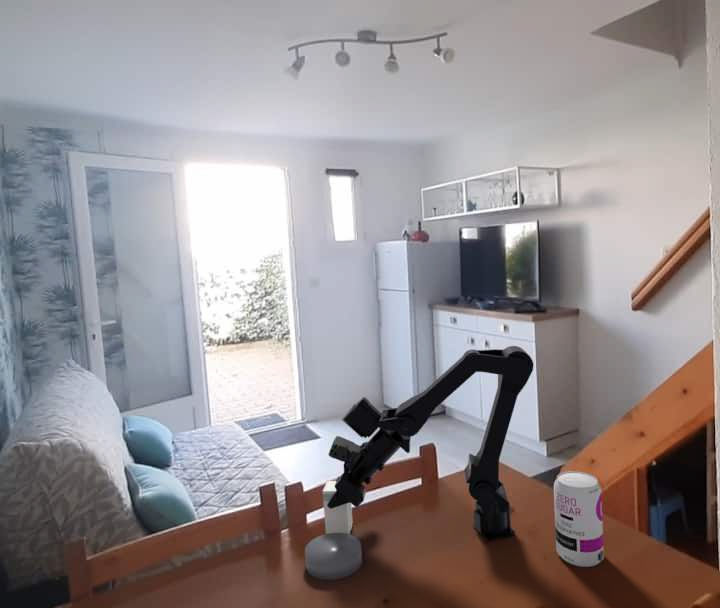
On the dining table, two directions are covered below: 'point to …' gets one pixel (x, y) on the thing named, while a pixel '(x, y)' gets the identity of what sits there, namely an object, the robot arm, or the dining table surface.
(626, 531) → the dining table surface
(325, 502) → the carton
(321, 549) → the grey dome
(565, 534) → the supplement can
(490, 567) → the dining table surface
